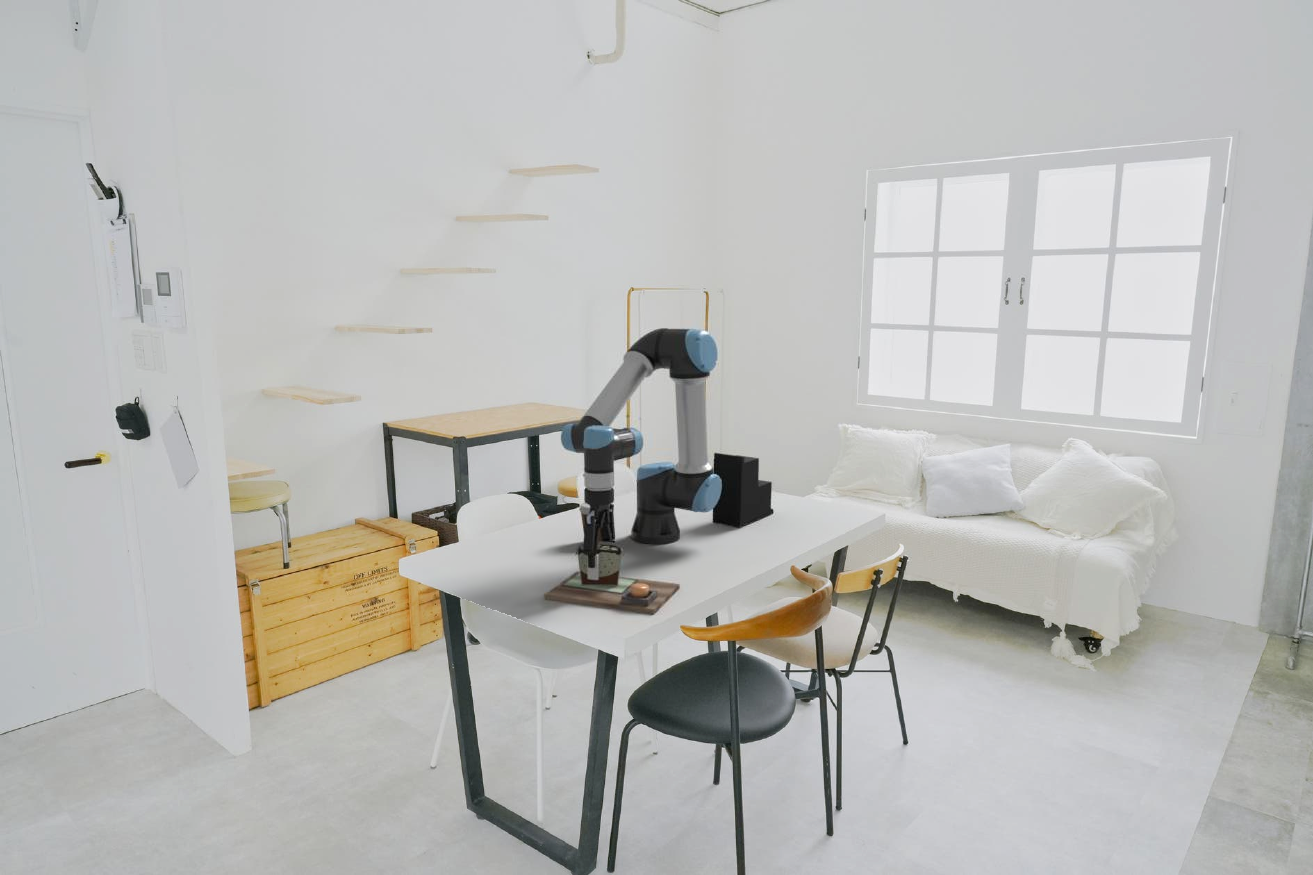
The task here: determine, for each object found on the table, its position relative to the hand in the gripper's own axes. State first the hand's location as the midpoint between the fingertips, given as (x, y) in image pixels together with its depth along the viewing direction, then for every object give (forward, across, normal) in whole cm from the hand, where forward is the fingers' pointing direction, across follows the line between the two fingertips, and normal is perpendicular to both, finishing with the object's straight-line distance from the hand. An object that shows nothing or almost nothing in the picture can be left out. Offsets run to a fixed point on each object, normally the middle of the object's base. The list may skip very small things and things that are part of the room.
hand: (599, 573), depth 225 cm
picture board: (+4, +3, +5) cm, 7 cm away
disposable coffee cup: (+4, -36, -17) cm, 40 cm away
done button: (+1, +8, +14) cm, 16 cm away
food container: (+3, -1, 0) cm, 3 cm away
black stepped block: (+4, -80, +18) cm, 82 cm away
